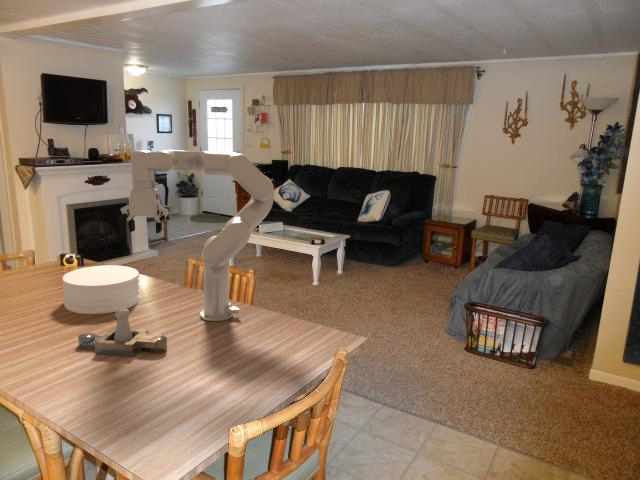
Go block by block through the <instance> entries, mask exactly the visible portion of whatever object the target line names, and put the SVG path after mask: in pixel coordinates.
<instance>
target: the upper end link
mask: <svg viewBox="0 0 640 480" xmlns="http://www.w3.org/2000/svg"><path fill="white" fill-rule="evenodd" d="M115 331H116V326H113V327H112V328H111V329H109V330H108V331H107V332H106V333H104V334H103V335H101V336H102V337H101V338H100V339H98V340H97V341H96V342H95V348H98V349H112V350H125V351H133V350H134V349H135V348H136V347H142V348H144V349H145V348H146V349H150V352H151V353H152V354H163V353H166V352H167V351H168V337H167V336H166V335H163V334H158V333H157V334H156V333H149V329H142V328H141V329H139V328H131V333H132V337H134V338H133V339H132V340H130V341H129V342H123V341H111V340H112V339H113V338H114V337H115Z"/></svg>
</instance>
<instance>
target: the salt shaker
mask: <svg viewBox="0 0 640 480" xmlns="http://www.w3.org/2000/svg"><path fill="white" fill-rule="evenodd" d="M130 314H131V313H130V310H129V308H127V309H126V308H122V309H118V310H116V311H115V312H114V317H115V318H116V325H115V327H116V331H115V337H114V341H123V342H129V341H130V340H132V339H133V337H132V333H131V329H132V328H131V325H130V320H129V316H130Z"/></svg>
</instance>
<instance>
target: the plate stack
mask: <svg viewBox="0 0 640 480" xmlns="http://www.w3.org/2000/svg"><path fill="white" fill-rule="evenodd" d="M139 275H140V273H139V270H137V269H136V268H134V267H131V266H125V265H108V264H107V265H105V264H104V265H103V264H102V265H94V266H86V267H81V268H78V269H74V270H71V271H69V272H67V273H65V274H64V275H63V276H62V278H61V279H62V289H63V301H64V303H63V304H64V305H63V306H64V308H65V309H66V310H67V311H69V312H73V313H76V314H83V315H85V314H86V315H97V314H107V313H113V312H114V313H115V312H116V310H118V309H122V308H126V309H129V308H131V307H134V306H135V305H137V304H138V303H139V302H140V300H141V297H140V278H139V277H140V276H139Z"/></svg>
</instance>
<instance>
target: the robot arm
mask: <svg viewBox="0 0 640 480" xmlns="http://www.w3.org/2000/svg"><path fill="white" fill-rule="evenodd" d="M130 155H131V156H130V158H131V181H132V188H131V189H130V193H129V200H128V201H129V202H128V204H127V205H125V206H123V207H121V208H120V211H121V214H122V216H123V217H124V218H125V219H126V221H127V222H128V223H127V224H128V230H129V233H132V232H135V231H136V221H135V218H136V217H139V218H140V217H141V218H153V219H154V220H155V221H156V222H155V233H156V234H159V233H161V232H162V230H163V226H162V225H163V221H164V220H165V219H166V218H167V216H168V214H169V211H170V210H168V209H167V208H165V207H163V206H162V205H161V202H160V196H159V191H158V188H156V187H159V185H160V184H159V182H156V180H155V172H159V173H168V172H171V171H184V172H193V173H197V174H200V175H203V176H204V175H205V176H226V177H232V178H233V179H234V180H235V181H236V182H237V184H239V185H240V186H241V187H242V188H243V189H244V190H245V191H246V192H247V193H248V194H249V195H250V196H251V197H250V199H249V200H248V202H247V203H246V204H245V205H244V206H243V207H242V208H241V209H240V210H239V211H238V212H237V213H236V214H235V215H234V216H233V217H231V218H230V219H229V220H228V221H226V223H225V226H224V228H223V229H222V230H221V231H220V232H219V233H218V234H216V235H212V236H210V237H208V238H207V239H206V240H205V242H204V245H203V248H202V252H201V257H202V260H203V309H202V310H201V311H200V312H199V318H201V319H202V320H205V321H208V322H222V321H223V322H224V321H226V320H228V319H231V318H232V317H233V315H234V314H235V315H237V314H238V315H240V312H241V310H240V308H239V307H238V306H232V302H230V261H231V259H232V258H234V257H235V256H236V255H237V254H238V252H240V251H241V250H242V249H243V248H244V247H245V246H246V245H247V243H248V242H249V240H250V238H251V233H252V231H253V230H254V229H256V228H257V226H258V225H259V224H260V223H261V222H263V220H264V219H265V218H266V217H267V216H268V214H269V213H270V211H271V209H272V207H273V204H274V199H275V195H274V194H275V193H274V188H275V187H274V184H273V182H272V180H271V179H270V178H269V177H268V176H266V175H265V174H264V173H262V171H261V170H260V169H258V167H257V166H255V164H254V163H253V162H252V161H251V160H250V159H249V157H248V156H247V155H246V154H244V153H241V152H231V151H230V152H228V151H209V150H198V151H197V150H196V151H195V150H194V151H193V150H179V149H177V150H176V149H163V150H159V151H158V150H157V151H151V150H147V149H136V150H132V151H131V153H130ZM127 210H129V211H127ZM128 212H129V213H128ZM161 212H162V213H163V214H161ZM160 214H161V215H160Z"/></svg>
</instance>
